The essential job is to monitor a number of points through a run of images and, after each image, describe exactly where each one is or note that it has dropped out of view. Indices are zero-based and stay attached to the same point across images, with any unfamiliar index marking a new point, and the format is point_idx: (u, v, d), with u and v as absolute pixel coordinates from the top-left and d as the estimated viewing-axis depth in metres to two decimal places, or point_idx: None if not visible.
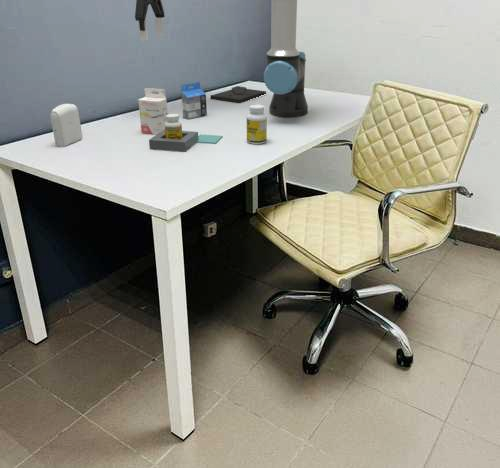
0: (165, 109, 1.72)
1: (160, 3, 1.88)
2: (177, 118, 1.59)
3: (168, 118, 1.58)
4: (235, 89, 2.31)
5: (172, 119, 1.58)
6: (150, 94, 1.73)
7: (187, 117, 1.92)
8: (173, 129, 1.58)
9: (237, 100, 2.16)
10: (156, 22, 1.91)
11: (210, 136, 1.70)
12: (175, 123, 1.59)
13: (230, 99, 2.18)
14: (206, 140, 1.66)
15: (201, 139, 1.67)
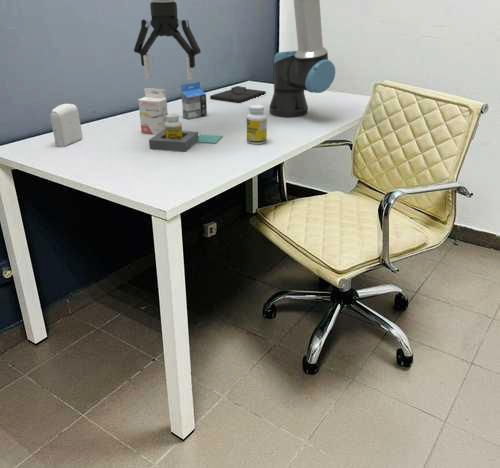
0: (165, 109, 1.72)
1: None
2: (177, 118, 1.59)
3: (168, 118, 1.58)
4: (235, 89, 2.31)
5: (172, 119, 1.58)
6: (150, 94, 1.73)
7: (187, 117, 1.92)
8: (173, 129, 1.58)
9: (237, 100, 2.16)
10: None
11: (210, 136, 1.70)
12: (175, 123, 1.59)
13: (230, 99, 2.18)
14: (206, 140, 1.66)
15: (201, 139, 1.67)
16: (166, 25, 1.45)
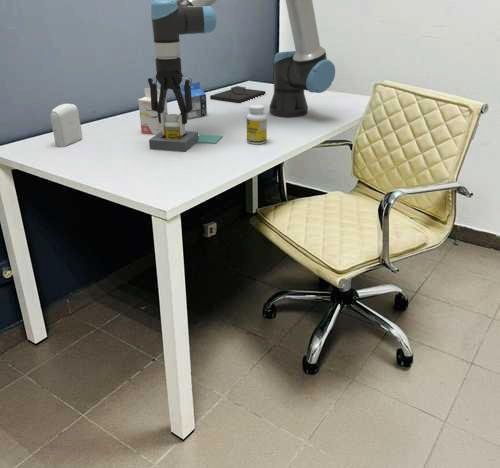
0: (165, 109, 1.72)
1: (185, 96, 1.54)
2: (177, 118, 1.59)
3: (168, 118, 1.58)
4: (234, 89, 2.31)
5: (172, 119, 1.58)
6: (150, 94, 1.73)
7: (187, 117, 1.92)
8: (173, 129, 1.58)
9: (237, 100, 2.16)
10: None
11: (210, 136, 1.70)
12: (175, 123, 1.59)
13: (230, 99, 2.17)
14: (206, 140, 1.66)
15: (201, 139, 1.67)
16: (171, 79, 1.52)
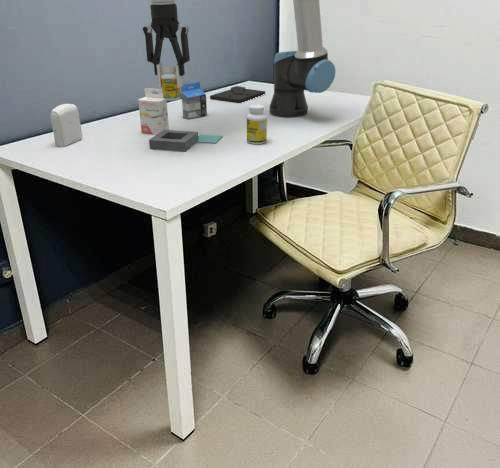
0: (165, 109, 1.72)
1: None
2: (174, 69, 1.52)
3: (164, 69, 1.51)
4: (234, 89, 2.31)
5: (169, 70, 1.51)
6: (150, 94, 1.73)
7: (187, 117, 1.92)
8: (170, 80, 1.52)
9: (237, 100, 2.16)
10: None
11: (210, 136, 1.70)
12: (172, 75, 1.52)
13: (230, 99, 2.17)
14: (206, 140, 1.66)
15: (201, 139, 1.67)
16: (167, 27, 1.46)
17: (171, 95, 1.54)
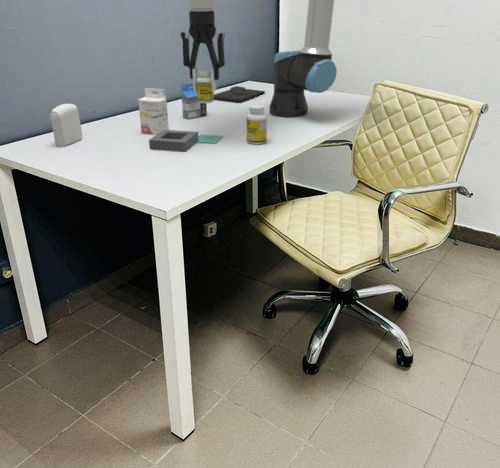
0: (165, 109, 1.72)
1: (218, 50, 1.54)
2: (209, 73, 1.58)
3: (200, 73, 1.57)
4: (234, 89, 2.31)
5: (204, 74, 1.57)
6: (150, 94, 1.73)
7: (187, 117, 1.92)
8: (205, 84, 1.58)
9: (237, 100, 2.15)
10: None
11: (210, 136, 1.70)
12: (207, 78, 1.58)
13: (230, 99, 2.17)
14: (206, 140, 1.66)
15: (201, 139, 1.67)
16: (204, 33, 1.51)
17: (205, 98, 1.60)
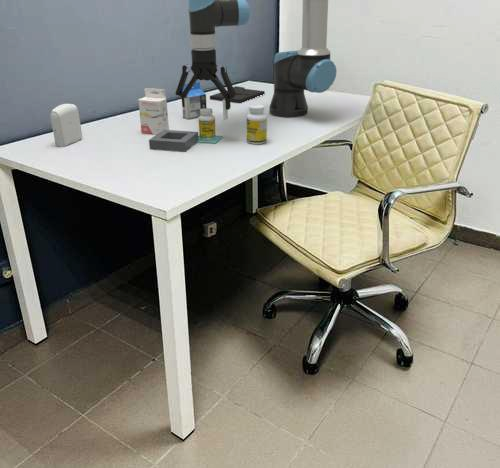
0: (165, 109, 1.72)
1: (225, 83, 1.58)
2: (211, 112, 1.64)
3: (202, 112, 1.63)
4: (234, 89, 2.31)
5: (206, 113, 1.63)
6: (150, 94, 1.73)
7: None
8: (207, 122, 1.63)
9: (237, 100, 2.15)
10: None
11: None
12: (209, 117, 1.63)
13: (230, 99, 2.17)
14: (206, 140, 1.66)
15: (201, 139, 1.67)
16: (206, 70, 1.56)
17: (207, 136, 1.65)
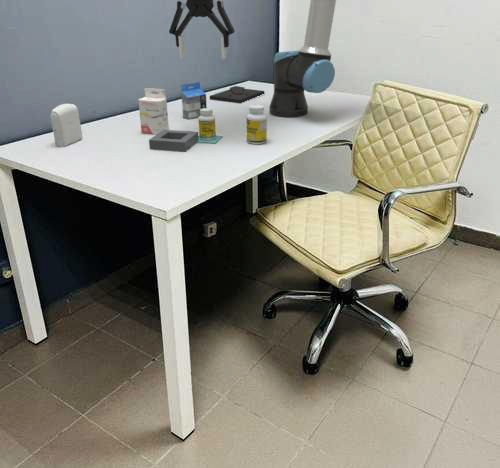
0: (165, 109, 1.72)
1: (222, 19, 1.51)
2: (211, 112, 1.64)
3: (202, 112, 1.63)
4: (233, 89, 2.31)
5: (206, 113, 1.63)
6: (150, 94, 1.73)
7: (187, 117, 1.92)
8: (207, 122, 1.63)
9: (238, 100, 2.15)
10: None
11: None
12: (209, 117, 1.63)
13: (230, 99, 2.17)
14: (206, 140, 1.66)
15: (201, 139, 1.67)
16: (202, 6, 1.50)
17: (207, 136, 1.65)
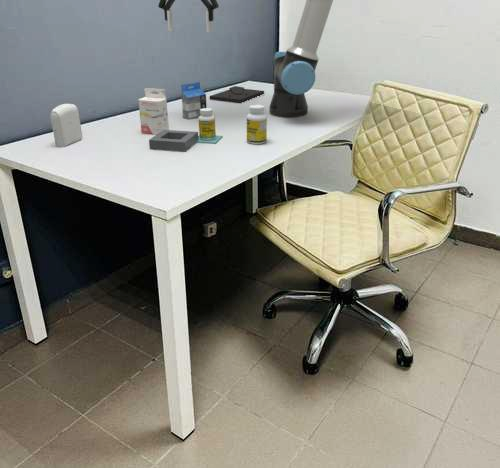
0: (165, 109, 1.72)
1: None
2: (211, 112, 1.64)
3: (202, 112, 1.63)
4: (233, 89, 2.31)
5: (206, 113, 1.63)
6: (150, 94, 1.73)
7: (187, 117, 1.92)
8: (207, 122, 1.63)
9: (238, 100, 2.15)
10: None
11: None
12: (209, 117, 1.63)
13: (230, 99, 2.17)
14: (206, 140, 1.66)
15: None
16: None
17: (207, 136, 1.65)
